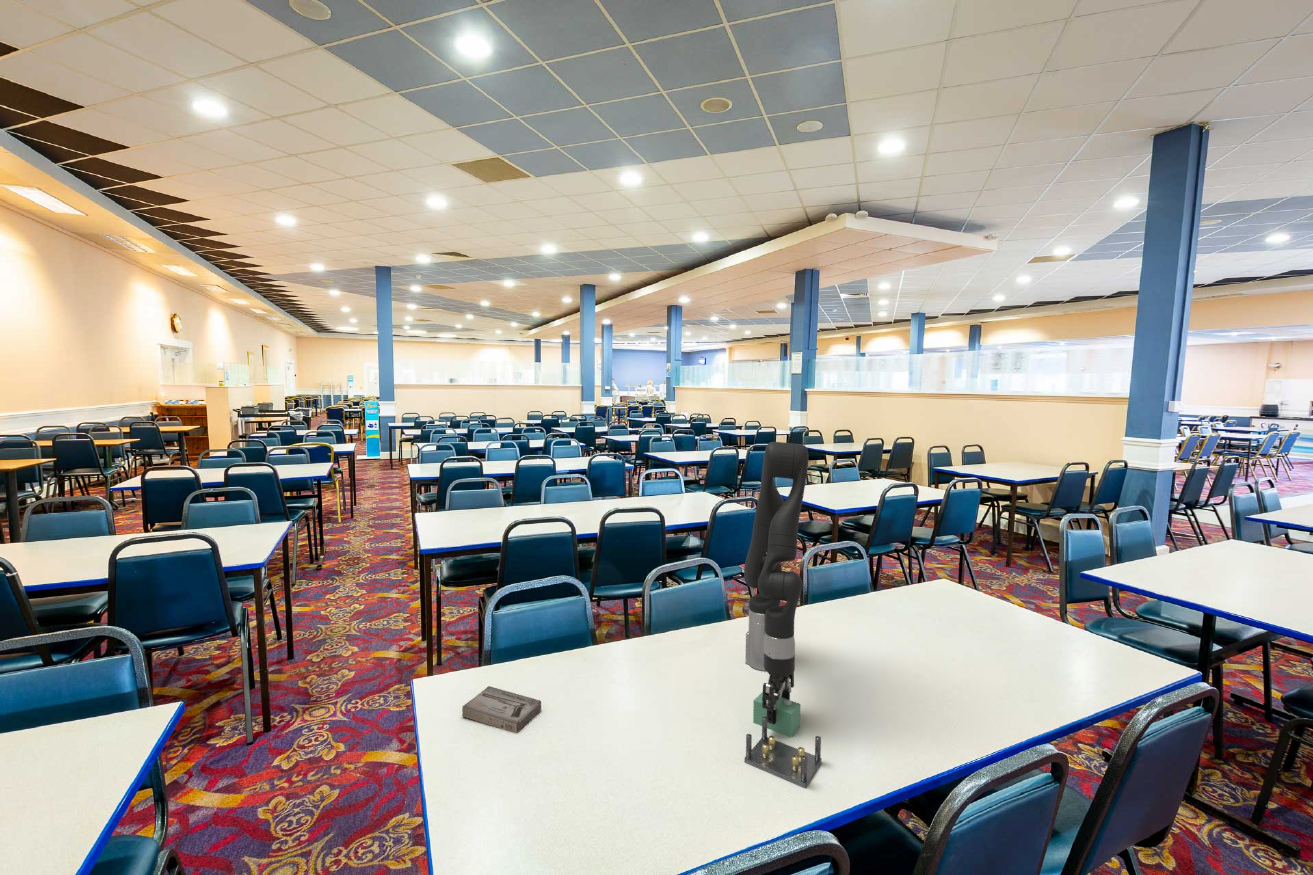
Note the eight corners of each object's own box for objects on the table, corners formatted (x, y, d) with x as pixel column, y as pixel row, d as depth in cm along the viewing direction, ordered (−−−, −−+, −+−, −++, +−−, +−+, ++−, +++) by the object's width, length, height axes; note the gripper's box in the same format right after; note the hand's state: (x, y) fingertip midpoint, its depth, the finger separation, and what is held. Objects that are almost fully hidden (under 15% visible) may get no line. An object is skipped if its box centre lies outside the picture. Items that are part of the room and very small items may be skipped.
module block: (753, 723, 138) (753, 697, 137) (763, 713, 142) (763, 688, 142) (791, 737, 132) (791, 711, 131) (799, 727, 136) (800, 701, 136)
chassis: (744, 762, 123) (744, 736, 122) (763, 739, 131) (763, 715, 130) (805, 787, 115) (805, 760, 114) (821, 762, 123) (822, 736, 122)
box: (488, 695, 150) (488, 684, 149) (542, 710, 143) (542, 699, 143) (460, 717, 140) (460, 706, 139) (517, 735, 133) (517, 723, 133)
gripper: (776, 637, 143) (775, 697, 144) (752, 657, 132) (752, 723, 133) (804, 644, 139) (803, 706, 140) (782, 666, 127) (781, 733, 128)
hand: (778, 714), depth 136 cm, fingers open, 8 cm apart
